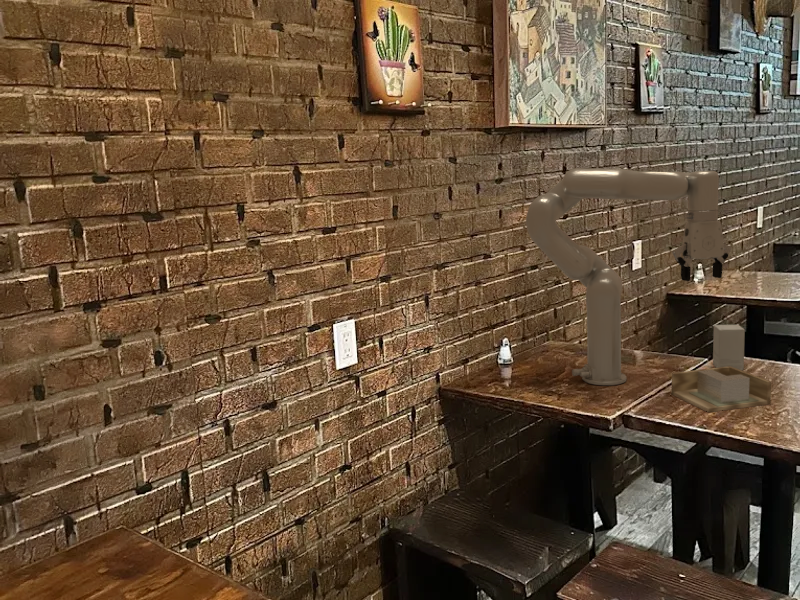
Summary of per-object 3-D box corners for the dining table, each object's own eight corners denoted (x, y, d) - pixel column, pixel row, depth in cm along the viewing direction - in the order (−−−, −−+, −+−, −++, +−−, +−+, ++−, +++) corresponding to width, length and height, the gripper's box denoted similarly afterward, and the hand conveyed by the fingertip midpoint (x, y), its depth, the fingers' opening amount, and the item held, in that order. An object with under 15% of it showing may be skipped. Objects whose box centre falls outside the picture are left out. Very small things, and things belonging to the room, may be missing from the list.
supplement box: (744, 370, 213) (745, 329, 211) (717, 370, 215) (718, 329, 213) (737, 364, 220) (739, 324, 218) (712, 364, 222) (713, 324, 220)
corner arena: (708, 412, 180) (708, 389, 179) (671, 394, 195) (671, 373, 194) (770, 404, 183) (771, 381, 182) (729, 386, 199) (730, 366, 198)
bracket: (697, 392, 192) (697, 371, 191) (724, 389, 193) (724, 368, 192) (720, 403, 182) (721, 381, 181) (748, 400, 184) (749, 377, 183)
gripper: (682, 219, 189) (681, 283, 192) (739, 215, 192) (738, 278, 195) (666, 218, 196) (665, 279, 199) (721, 214, 200) (720, 274, 202)
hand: (701, 278), depth 197 cm, fingers open, 9 cm apart
